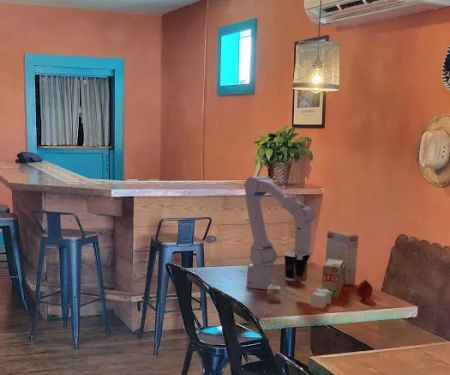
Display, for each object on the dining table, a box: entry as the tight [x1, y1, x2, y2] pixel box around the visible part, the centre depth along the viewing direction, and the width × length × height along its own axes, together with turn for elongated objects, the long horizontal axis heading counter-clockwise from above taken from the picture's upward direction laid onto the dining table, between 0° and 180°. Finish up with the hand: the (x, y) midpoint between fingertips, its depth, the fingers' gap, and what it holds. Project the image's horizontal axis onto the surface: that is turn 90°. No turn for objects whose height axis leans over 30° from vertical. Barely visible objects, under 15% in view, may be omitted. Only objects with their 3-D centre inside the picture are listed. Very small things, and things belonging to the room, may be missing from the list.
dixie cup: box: [283, 251, 297, 282], centre depth 259 cm, size 8×8×11 cm
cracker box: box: [324, 229, 359, 286], centre depth 259 cm, size 14×6×21 cm, turn 28°
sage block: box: [314, 288, 332, 305], centre depth 228 cm, size 4×4×4 cm
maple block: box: [266, 285, 281, 302], centre depth 229 cm, size 4×4×4 cm
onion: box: [356, 278, 373, 301], centre depth 234 cm, size 6×6×8 cm
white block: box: [309, 291, 327, 309], centre depth 223 cm, size 4×4×4 cm
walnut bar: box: [293, 263, 309, 282], centre depth 231 cm, size 4×4×6 cm
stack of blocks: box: [321, 259, 345, 299], centre depth 245 cm, size 21×6×12 cm, turn 162°
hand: (300, 274), depth 231 cm, fingers closed on walnut bar, 4 cm apart
